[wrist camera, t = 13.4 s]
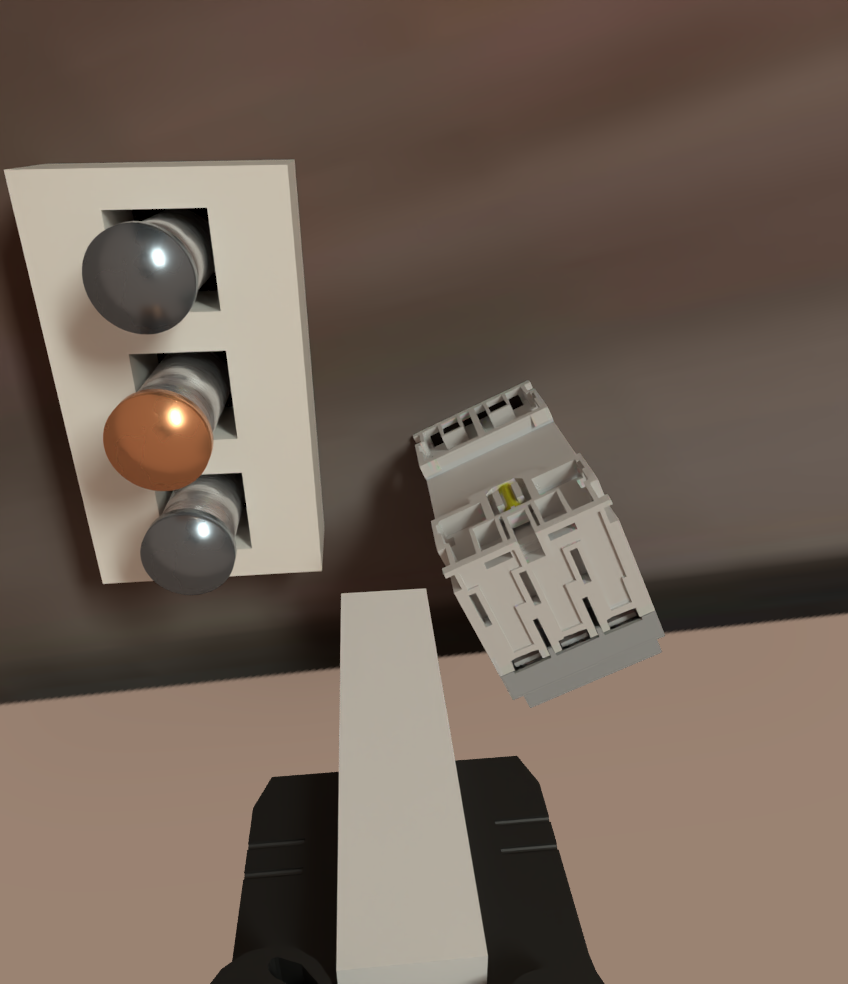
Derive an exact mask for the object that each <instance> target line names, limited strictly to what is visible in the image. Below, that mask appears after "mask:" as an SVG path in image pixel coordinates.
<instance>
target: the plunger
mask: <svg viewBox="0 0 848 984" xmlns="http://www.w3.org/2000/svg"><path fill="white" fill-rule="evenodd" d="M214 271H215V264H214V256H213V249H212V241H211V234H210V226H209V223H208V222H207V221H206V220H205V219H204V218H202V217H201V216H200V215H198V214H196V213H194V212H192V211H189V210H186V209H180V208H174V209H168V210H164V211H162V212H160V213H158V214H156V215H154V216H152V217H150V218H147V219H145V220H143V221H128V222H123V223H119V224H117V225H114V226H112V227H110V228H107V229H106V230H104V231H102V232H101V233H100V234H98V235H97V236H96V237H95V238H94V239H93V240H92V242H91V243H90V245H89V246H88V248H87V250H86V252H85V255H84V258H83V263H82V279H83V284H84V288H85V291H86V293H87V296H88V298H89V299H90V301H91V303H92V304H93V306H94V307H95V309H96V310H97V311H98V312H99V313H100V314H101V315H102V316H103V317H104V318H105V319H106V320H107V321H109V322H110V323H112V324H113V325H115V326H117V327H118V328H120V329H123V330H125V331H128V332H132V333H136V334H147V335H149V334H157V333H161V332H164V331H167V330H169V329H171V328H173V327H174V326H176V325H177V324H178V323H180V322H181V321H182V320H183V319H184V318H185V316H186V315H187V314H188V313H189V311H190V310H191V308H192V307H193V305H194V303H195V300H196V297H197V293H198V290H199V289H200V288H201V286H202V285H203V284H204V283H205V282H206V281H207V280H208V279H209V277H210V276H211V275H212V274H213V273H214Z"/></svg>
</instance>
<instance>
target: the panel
mask: <svg viewBox="0 0 848 984" xmlns="http://www.w3.org/2000/svg"><path fill="white" fill-rule="evenodd" d="M4 173H5V177H6V181H7V186H8V190H9V194H10V198H11V202H12V206H13V211H14V215H15V219H16V223H17V227H18V231H19V236H20V240H21V244H22V248H23V252H24V257H25V261H26V265H27V269H28V273H29V277H30V282H31V286H32V290H33V294H34V298H35V302H36V307H37V311H38V315H39V319H40V323H41V328H42V332H43V336H44V340H45V344H46V348H47V353H48V357H49V361H50V365H51V369H52V374H53V378H54V382H55V386H56V390H57V394H58V399H59V403H60V407H61V411H62V415H63V419H64V424H65V428H66V432H67V436H68V440H69V445H70V449H71V453H72V457H73V461H74V465H75V470H76V474H77V478H78V482H79V486H80V490H81V495H82V499H83V503H84V507H85V511H86V516H87V520H88V524H89V528H90V532H91V536H92V541H93V545H94V549H95V553H96V557H97V561H98V566H99V570H100V574H101V578H102V582H103V584H109V583H126V582H143V581H153V580H152V579H151V578H150V576H149V575H148V574H147V572H146V571H145V569H144V567H143V565H142V561H141V556H140V548H141V543H142V541H143V538H144V536H145V534H146V532H147V530H148V528H149V527H150V525H151V524H152V523H153V522H154V521H155V520H156V519H157V518H158V517H160V516H161V515H162V513H163V511H164V509H165V507H166V505H167V503H168V501H169V499H170V496H171V494H172V492H173V490H172V491H154V490H149V489H145V488H142V487H139V486H137V485H135V484H133V483H131V482H130V481H128V480H126V479H125V478H124V477H123V476H121V475H120V474H119V473H118V472H117V471H116V470H115V468H114V467H113V466H112V464H111V463H110V461H109V459H108V457H107V455H106V452H105V449H104V444H103V431H104V427H105V423H106V421H107V419H108V417H109V416H110V414H111V413H112V411H113V410H114V409H115V408H116V406H117V405H118V404H119V403H120V402H121V401H122V400H123V399H125V398H126V397H127V396H129V395H131V394H133V393H136V392H138V391H139V389H140V388H141V387H142V385H143V384H144V383H145V381H146V380H147V379H148V378H149V376H150V375H151V374H152V372H153V371H154V370H155V369H156V367H157V366H158V365H159V363H158V357H157V353H176V352H203V351H226V355H227V363H228V370H229V378H230V385H231V393H232V401H233V406H232V407H224V409H223V411H222V413H221V416H220V418H219V420H218V423H217V425H216V427H215V430H214V432H213V440H214V443H213V450H212V454H211V457H210V459H209V462H208V464H207V466H206V468H205V470H204V472H203V473H202V474H201V475H203V474H224V473H242V476H243V484H244V492H245V499H246V507H247V508H243V509H242V513H241V516H240V520H239V524H238V528H237V531H236V535H235V542H236V548H237V553H236V559H235V563H234V566H233V570H232V572H231V574H230V576H244V575H261V574H278V573H295V572H312V571H322V562H323V544H324V517H323V505H322V492H321V480H320V468H319V455H318V443H317V431H316V418H315V406H314V394H313V381H312V369H311V357H310V344H309V332H308V320H307V307H306V295H305V283H304V271H303V258H302V246H301V234H300V221H299V209H298V197H297V184H296V172H295V160H240V161H183V162H125V163H68V164H41V165H34V166H27V167H20V168H13V169H6V170H4ZM174 208H207V211H208V218H209V226H210V234H211V241H212V249H213V256H214V264H215V272H216V279H217V287H218V291H198V293H197V297H196V300H195V303H194V305H193V307H192V308H191V310H190V311H189V313H188V314H187V315H186V316H185V318H184V319H183V320H182V321H181V322H180V323H178V324H177V325H176V326H174V327H173V328H171V329H169V330H167V331H164V332H161V333H157V334H149V335H147V334H136V333H132V332H128V331H125V330H123V329H120V328H118V327H117V326H115V325H113V324H112V323H110V322H109V321H107V320H106V319H105V318H104V317H103V316H102V315H101V314H100V313H99V312H98V311H97V310H96V309H95V307H94V306H93V304H92V303H91V301H90V299H89V298H88V296H87V293H86V291H85V288H84V284H83V279H82V263H83V258H84V255H85V252H86V250H87V248H88V246H89V245H90V243H91V242H92V240H93V239H94V238H95V237H96V236H97V235H98V234H100V233H101V232H102V231H104V230H106V229H107V228H110V227H112V226H114V225H117V224H119V223H123V222H128V221H134V219H133V213H132V209H174Z"/></svg>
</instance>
